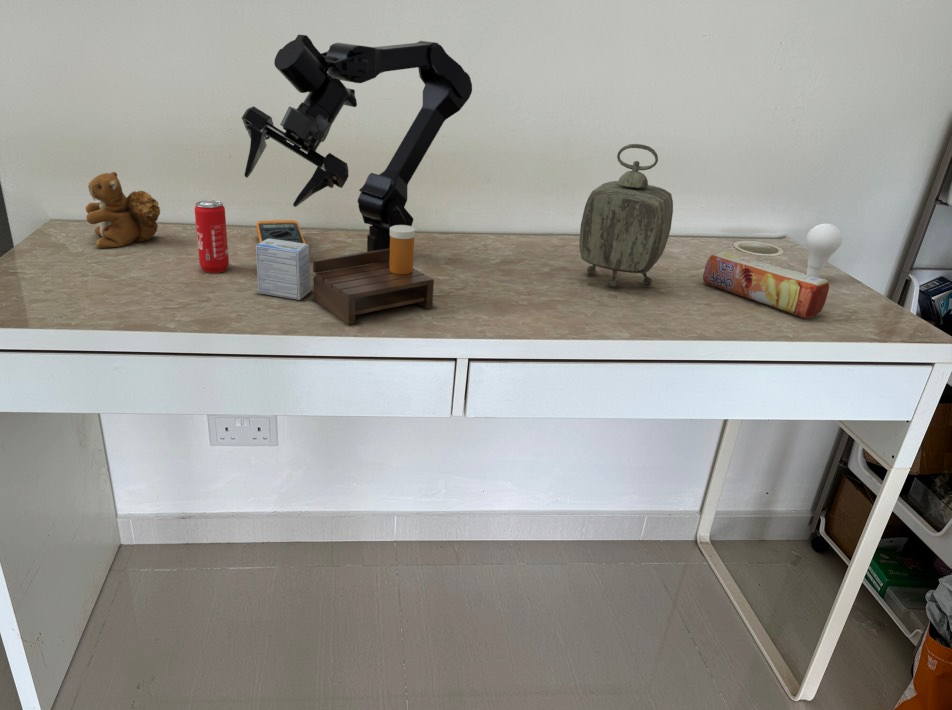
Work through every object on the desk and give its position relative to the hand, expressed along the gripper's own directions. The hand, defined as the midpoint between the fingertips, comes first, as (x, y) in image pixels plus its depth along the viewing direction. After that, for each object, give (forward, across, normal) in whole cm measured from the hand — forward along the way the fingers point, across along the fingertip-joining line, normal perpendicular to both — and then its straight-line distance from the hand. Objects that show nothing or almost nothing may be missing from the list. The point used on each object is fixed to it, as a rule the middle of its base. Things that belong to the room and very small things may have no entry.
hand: (269, 191), depth 127 cm
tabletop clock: (-21, +60, +12) cm, 64 cm away
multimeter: (+4, +1, +27) cm, 27 cm away
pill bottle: (0, +25, +1) cm, 25 cm away
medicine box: (+13, +10, +5) cm, 17 cm away
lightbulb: (-44, +94, +17) cm, 105 cm away
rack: (+7, +24, +2) cm, 25 cm away
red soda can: (+15, -5, +15) cm, 22 cm away
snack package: (-30, +83, +6) cm, 88 cm away
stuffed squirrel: (+18, -26, +29) cm, 43 cm away
